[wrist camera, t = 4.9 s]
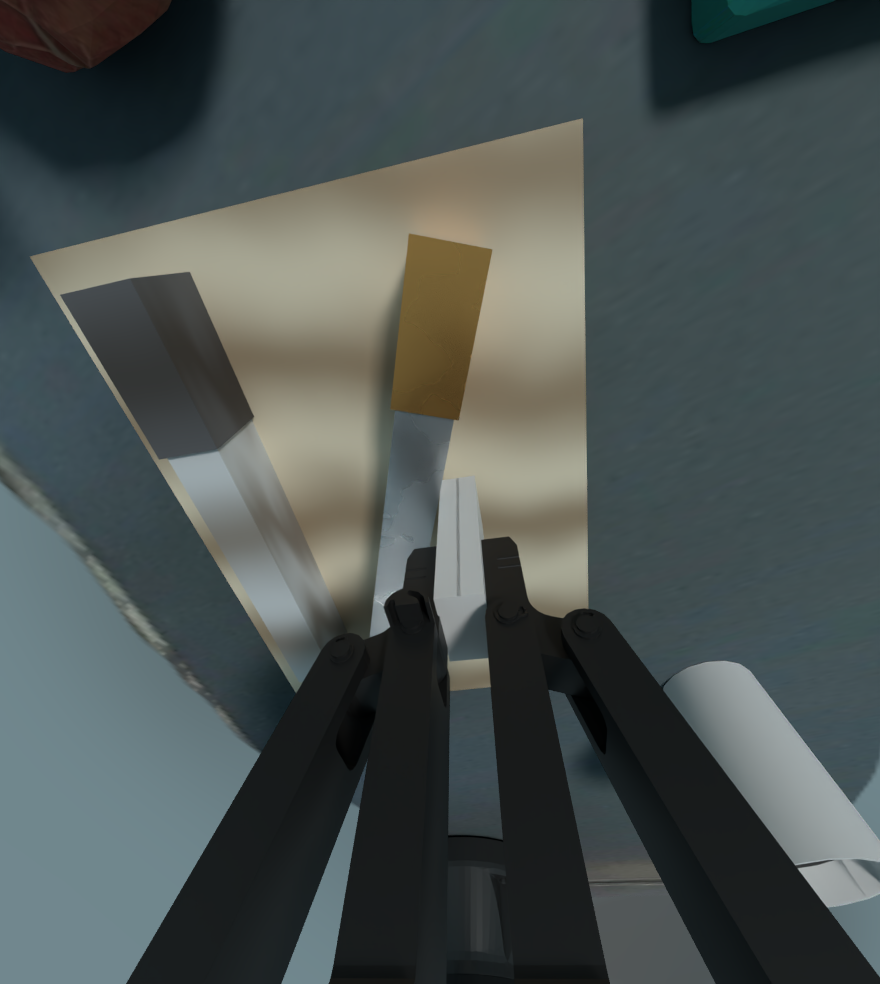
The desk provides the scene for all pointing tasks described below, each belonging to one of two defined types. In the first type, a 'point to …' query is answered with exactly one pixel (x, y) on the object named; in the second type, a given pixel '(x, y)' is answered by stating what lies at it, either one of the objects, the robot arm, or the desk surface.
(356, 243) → the board
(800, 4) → the digital multimeter
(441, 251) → the bar
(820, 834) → the white coffee cup
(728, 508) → the desk surface
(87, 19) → the anatomical model
